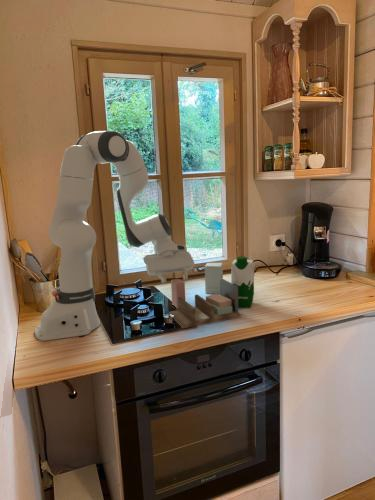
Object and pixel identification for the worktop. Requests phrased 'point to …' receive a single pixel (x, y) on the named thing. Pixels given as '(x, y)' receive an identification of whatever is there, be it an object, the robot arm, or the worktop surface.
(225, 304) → the toppled books
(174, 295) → the rose book
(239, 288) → the milk carton
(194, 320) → the walnut book rack
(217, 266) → the supplement box
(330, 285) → the worktop surface
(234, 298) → the dark metal bookend
